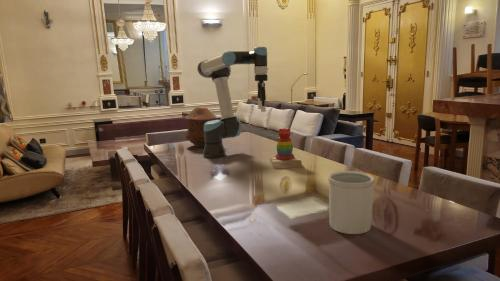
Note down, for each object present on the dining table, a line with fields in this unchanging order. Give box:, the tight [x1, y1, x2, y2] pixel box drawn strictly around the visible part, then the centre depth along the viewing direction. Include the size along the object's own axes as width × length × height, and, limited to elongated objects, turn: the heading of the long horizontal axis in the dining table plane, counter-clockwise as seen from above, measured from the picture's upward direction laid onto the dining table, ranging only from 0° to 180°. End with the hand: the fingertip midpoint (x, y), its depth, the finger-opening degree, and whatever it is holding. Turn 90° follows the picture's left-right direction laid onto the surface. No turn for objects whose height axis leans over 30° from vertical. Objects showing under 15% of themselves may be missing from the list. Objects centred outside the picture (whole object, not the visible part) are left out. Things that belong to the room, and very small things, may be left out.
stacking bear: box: [275, 127, 295, 160], centre depth 208 cm, size 11×10×18 cm
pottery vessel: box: [184, 106, 217, 148], centre depth 276 cm, size 26×26×30 cm
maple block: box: [269, 154, 302, 169], centre depth 211 cm, size 16×16×4 cm
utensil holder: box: [327, 170, 375, 235], centre depth 122 cm, size 15×15×18 cm
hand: (261, 110), depth 215 cm, fingers open, 13 cm apart
